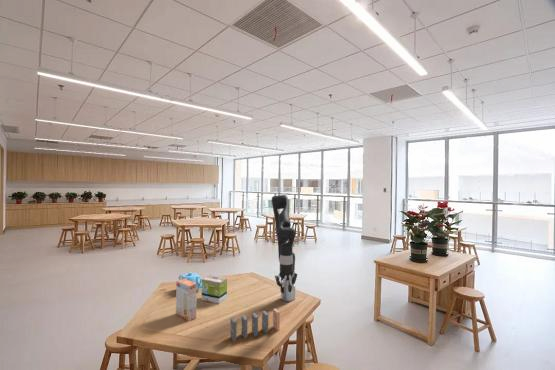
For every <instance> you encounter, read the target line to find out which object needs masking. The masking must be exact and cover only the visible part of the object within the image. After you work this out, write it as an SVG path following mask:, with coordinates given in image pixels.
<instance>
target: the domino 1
mask: <svg viewBox="0 0 555 370" xmlns="http://www.w3.org/2000/svg"><path fill="white" fill-rule="evenodd" d="M230 338H231V341H232V342H233V343H234V342H237V320H236V318H235V317H230Z"/></svg>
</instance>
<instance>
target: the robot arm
mask: <svg viewBox="0 0 555 370" xmlns="http://www.w3.org/2000/svg"><path fill="white" fill-rule="evenodd" d="M271 204H272V210H273V217H274V221H275V222H274V223H275V231H276V232H275V233H276V239H277V247H278V248H277V249H278V251H277V253H278V260H279V261H278V262H279V274H278V275H274V279H275V282H276V284H277V286H278V287H280V299H281V300H282V301H283V302H292V301H294V300H296V285H295V284H296V281H297V277H298V274H297V273H296V272H295V270H296V269H295V267H296V254H295V252H293V246H294V242H295V239H296V233H297V232H296V229H295V228H294V227H291V218H290V201H289V197H288V195H286V194H280V195H273V196H272V197H271ZM279 210H281V212H279Z"/></svg>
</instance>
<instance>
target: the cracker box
mask: <svg viewBox="0 0 555 370" xmlns="http://www.w3.org/2000/svg"><path fill="white" fill-rule="evenodd" d="M175 284H176V289H175V290H176V291H175V292H176V295H175V314H176V315H177V316H178V315H179V317H180V316H181V317H180V318H182V319H183V318H184V319H183V320H185V321H187V322H189V321H192V320H195V319H196V318H197V291H198V290H197V284H196V283H193V282H191V281H189V280H186V279H182V280H179V279H178V280H176V283H175Z"/></svg>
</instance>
